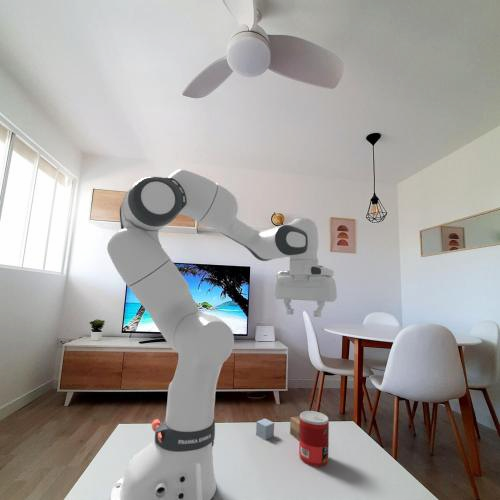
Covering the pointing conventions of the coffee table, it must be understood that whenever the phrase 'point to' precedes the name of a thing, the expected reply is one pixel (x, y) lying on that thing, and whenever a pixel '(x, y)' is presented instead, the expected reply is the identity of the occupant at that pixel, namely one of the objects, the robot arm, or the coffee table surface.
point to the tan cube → (295, 427)
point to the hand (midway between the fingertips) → (303, 315)
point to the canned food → (314, 438)
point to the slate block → (265, 429)
